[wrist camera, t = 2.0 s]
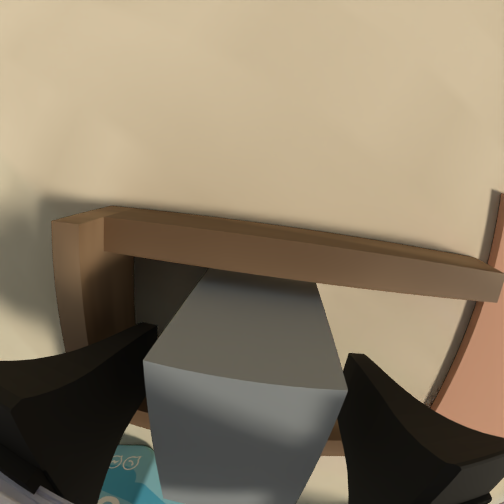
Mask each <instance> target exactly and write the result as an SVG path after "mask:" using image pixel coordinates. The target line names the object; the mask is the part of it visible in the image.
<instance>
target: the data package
mask: <svg viewBox="0 0 504 504" xmlns="http://www.w3.org/2000/svg"><path fill="white" fill-rule="evenodd" d="M97 504H183V503H179V502H175V501H171V500H167V499H164V498H163V495H162V490H161V485H160V481H159V476H158V471H157V465H156V460H155V454H154V451H153V450H152V449H151V448H149V447H147V446H143V445H118V446H117V449H116V451H115V453H114V456H113V459H112V461H111V464H110V466H109V469H108V472H107V474H106V477H105V480H104V483H103V486H102V489H101V493H100V496H99V500H98V503H97Z"/></svg>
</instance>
